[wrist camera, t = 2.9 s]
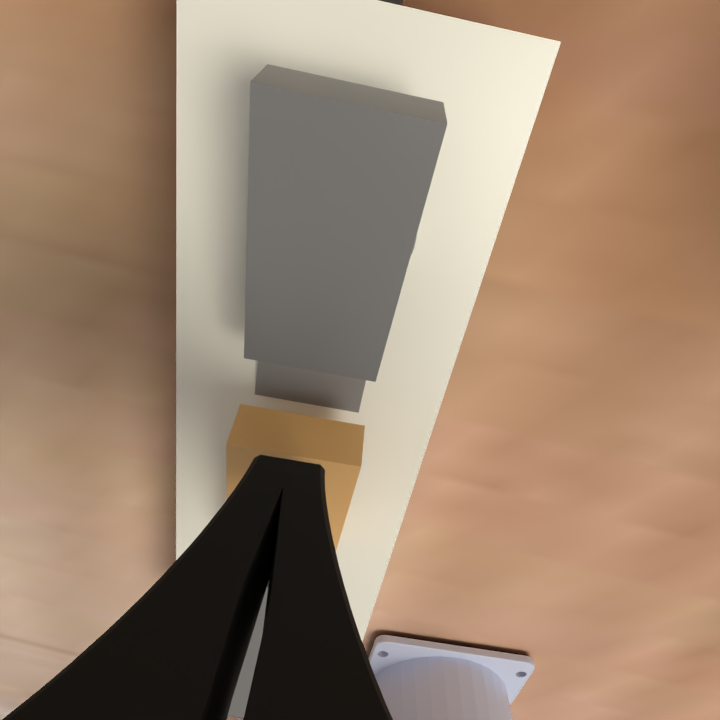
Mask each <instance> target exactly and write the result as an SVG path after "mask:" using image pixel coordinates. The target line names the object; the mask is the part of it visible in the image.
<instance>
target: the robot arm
mask: <svg viewBox="0 0 720 720" xmlns="http://www.w3.org/2000/svg"><path fill="white" fill-rule="evenodd" d="M268 582H269V585H268ZM267 585H268V593H267V601H266V609H265V618H264V626H263V634H262V639H261V643H260V648H259V652H258V657H257V662H256V666H255V670H254V675H253V679H252V684H251V688H250V693H249V697H248V702H247V706H246V710H245V715H244V719H243V720H513V718H512V713H511V708H510V705H511V703H512V702H513V700H514V699H515V697H516V696H517V694H518V693H519V691H520V690H521V688H522V687H523V685H524V684H525V682H526V681H527V680H528V678H529V677H530V675H531V674H532V672H533V671H534V669H535V666H534V662H533V659H532V658H531V657H529V656H525V655H518V654H511V653H505V652H498V651H491V650H485V649H478V648H471V647H465V646H458V645H451V644H444V643H438V642H431V641H424V640H418V639H411V638H404V637H397V636H391V635H380V636H378V637H377V638H376V639H375V641H374V644H373V647H372V650H371V653H370V655H369V658H368V657H367V654H366V651H365V648H364V646H363V643H362V640H361V637H360V634H359V632H358V629H357V626H356V623H355V619H354V616H353V613H352V610H351V607H350V603H349V600H348V597H347V593H346V590H345V586H344V583H343V579H342V575H341V572H340V568H339V564H338V560H337V555H336V551H335V546H334V542H333V538H332V533H331V527H330V522H329V516H328V509H327V502H326V492H325V469H324V468H323V467H322V466H321V465H319V464H313V463H308V462H302V461H296V460H290V459H284V458H278V457H272V456H266V455H259V456H257V457H255V458H254V459H253V461H252V463H251V464H250V466H249V468H248V470H247V471H246V473H245V474H244V476H243V477H242V479H241V481H240V482H239V483H238V485H237V486H236V488H235V489H234V491H233V492H232V493H231V495H230V496H229V497H228V499H227V500H226V501H225V503H224V504H223V506H222V507H221V508H220V509H219V511H218V512H217V513H216V514H215V516H214V517H213V518H212V519H211V521H210V522H209V523H208V524H207V526H206V527H205V528H204V529H203V531H202V532H201V533H200V534H199V535H198V537H197V538H196V539H195V540H194V541H193V542H192V544H191V545H190V546H189V547H188V548H187V549H186V550H185V551H184V552H183V554H182V555H181V556H180V557H179V558H178V559H177V560H176V561H175V562H174V564H173V565H172V566H171V567H170V568H169V569H168V570H167V571H166V572H165V574H164V575H163V576H162V577H161V578H160V579H159V580H158V581H157V582H156V583H155V584H154V585H153V586H152V587H151V588H150V589H149V590H148V591H147V592H146V593H145V594H144V595H143V596H142V597H141V598H140V599H139V600H138V601H137V602H136V603H135V604H134V605H133V606H132V607H131V608H130V609H129V610H128V611H127V612H126V613H125V614H124V615H123V616H122V617H121V618H120V619H119V620H118V621H117V622H116V623H115V624H114V625H112V626H111V627H110V628H109V629H108V630H107V631H106V632H105V633H104V634H103V635H102V636H100V637H99V638H98V639H97V640H96V641H95V642H94V643H93V644H92V645H90V646H89V647H88V648H87V649H86V650H85V651H84V652H83V653H82V654H80V655H79V656H78V657H77V658H76V659H75V660H74V661H73V662H72V663H70V664H69V665H68V666H67V667H66V668H65V669H63V670H62V671H61V672H60V673H59V674H58V675H56V676H55V677H54V678H53V679H52V680H51V681H49V682H48V683H47V684H46V685H45V686H43V687H42V688H41V689H40V690H39V691H37V692H36V693H35V694H34V695H32V696H31V697H30V698H29V699H27V700H26V701H25V702H24V703H22V704H21V705H20V706H19V707H17V708H16V709H15V710H14V711H12V712H11V713H10V714H9V715H7V716H6V717H5V718H4V719H2V720H226V719H227V716H228V712H229V709H230V705H231V701H232V698H233V694H234V691H235V688H236V685H237V681H238V678H239V675H240V672H241V669H242V665H243V662H244V659H245V656H246V653H247V649H248V646H249V643H250V640H251V636H252V633H253V630H254V627H255V624H256V620H257V617H258V614H259V611H260V607H261V604H262V601H263V598H264V595H265V591H266V588H267Z"/></svg>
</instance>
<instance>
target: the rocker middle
mask: <svg viewBox="0 0 720 720" xmlns="http://www.w3.org/2000/svg"><path fill="white" fill-rule="evenodd" d="M364 430H365V426H364V425H358V424H352V423H347V422H341V421H335V420H330V419H324V418H318V417H312V416H307V415H301V414H295V413H289V412H284V411H278V410H272V409H267V408H261V407H255V406H249V405H244V404H240V406H239V409H238V412H237V415H236V417H235V420H234V423H233V426H232V429H231V432H230V434H229V437H228V440H227V443H226V478H227V499H228V497H229V496H230V495H231V493H232V492H233V491H234V489H235V488H236V486H237V485H238V483H239V482H240V481H241V479H242V477H243V476H244V474H245V473H246V471H247V470H248V468H249V466H250V464H251V463H252V461H253V459H254V458H255V457H257V456H259V455H266V456H272V457H278V458H284V459H290V460H296V461H302V462H308V463H313V464H319V465H321V466H322V467H323V468H324V469H325V492H326V502H327V509H328V516H329V522H330V527H331V533H332V538H333V542H334V546H335V551H336V549H337V546H338V543H339V539H340V536H341V533H342V529H343V526H344V523H345V519H346V516H347V513H348V509H349V506H350V503H351V499H352V496H353V493H354V489H355V486H356V483H357V479H358V476H359V473H360V469H361V464H362V453H363V441H364Z"/></svg>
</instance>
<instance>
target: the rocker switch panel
mask: <svg viewBox="0 0 720 720" xmlns="http://www.w3.org/2000/svg"><path fill="white" fill-rule="evenodd" d="M402 3H403V0H177V88H176V560H177V559H178V558H179V557H180V556H181V555H182V554H183V552H184V551H185V550H186V549H187V548H188V547H189V546H190V545H191V544H192V542H193V541H194V540H195V539H196V538H197V537H198V535H199V534H200V533H201V532H202V531H203V529H204V528H205V527H206V526H207V524H208V523H209V522H210V521H211V519H212V518H213V517H214V516H215V514H216V513H217V512H218V511H219V509H220V508H221V507H222V506H223V504H224V503H225V501H226V500H227V478H226V443H227V440H228V437H229V434H230V432H231V429H232V426H233V423H234V420H235V417H236V415H237V412H238V409H239V406H240V404H244V405H249V406H255V407H261V408H267V409H272V410H278V411H284V412H289V413H295V414H301V415H307V416H312V417H318V418H324V419H330V420H335V421H341V422H347V423H352V424H358V425H364V426H365V430H364V441H363V453H362V464H361V469H360V473H359V476H358V479H357V483H356V486H355V489H354V493H353V496H352V499H351V503H350V506H349V509H348V513H347V516H346V519H345V523H344V526H343V529H342V533H341V536H340V539H339V543H338V546H337V549H336V555H337V560H338V564H339V568H340V572H341V575H342V579H343V583H344V586H345V590H346V593H347V597H348V600H349V603H350V607H351V610H352V613H353V616H354V619H355V623H356V626H357V629H358V632H359V634H360V637H361V640H362V641H363V638H364V635H365V632H366V629H367V626H368V623H369V620H370V617H371V614H372V611H373V608H374V605H375V602H376V599H377V596H378V593H379V590H380V587H381V584H382V581H383V578H384V575H385V572H386V569H387V566H388V563H389V560H390V557H391V554H392V551H393V548H394V545H395V542H396V539H397V536H398V533H399V530H400V526H401V523H402V520H403V517H404V514H405V511H406V508H407V505H408V502H409V499H410V496H411V493H412V490H413V487H414V484H415V481H416V478H417V475H418V472H419V469H420V466H421V463H422V460H423V457H424V454H425V451H426V448H427V445H428V442H429V439H430V436H431V433H432V430H433V427H434V424H435V421H436V418H437V415H438V412H439V409H440V406H441V403H442V400H443V397H444V394H445V391H446V388H447V385H448V381H449V378H450V375H451V372H452V369H453V366H454V363H455V360H456V357H457V354H458V351H459V348H460V345H461V342H462V339H463V336H464V333H465V330H466V327H467V324H468V321H469V318H470V315H471V312H472V309H473V306H474V303H475V300H476V297H477V294H478V291H479V288H480V285H481V282H482V279H483V276H484V273H485V270H486V267H487V264H488V261H489V258H490V255H491V252H492V249H493V246H494V243H495V240H496V236H497V233H498V230H499V227H500V224H501V221H502V218H503V215H504V212H505V209H506V206H507V203H508V200H509V197H510V194H511V191H512V188H513V185H514V182H515V179H516V176H517V173H518V170H519V167H520V164H521V161H522V158H523V155H524V152H525V149H526V146H527V143H528V140H529V137H530V134H531V131H532V128H533V125H534V122H535V119H536V116H537V113H538V110H539V107H540V104H541V101H542V98H543V95H544V91H545V88H546V85H547V82H548V79H549V76H550V73H551V70H552V67H553V64H554V61H555V58H556V55H557V52H558V49H559V46H560V43H561V42H559V41H555V40H550V39H546V38H542V37H537V36H533V35H528V34H524V33H520V32H515V31H511V30H507V29H502V28H498V27H493V26H489V25H485V24H480V23H476V22H471V21H467V20H463V19H458V18H454V17H449V16H445V15H441V14H436V13H432V12H427V11H423V10H419V9H414V8H410V7H405V6H402ZM267 64H269V65H274V66H279V67H283V68H288V69H292V70H297V71H302V72H306V73H311V74H315V75H320V76H325V77H329V78H334V79H339V80H343V81H348V82H352V83H357V84H362V85H366V86H371V87H375V88H380V89H385V90H389V91H394V92H399V93H403V94H408V95H412V96H417V97H422V98H426V99H431V100H435V101H440V102H443V103H444V108H445V113H446V119H447V127H446V131H445V134H444V138H443V142H442V145H441V149H440V152H439V156H438V159H437V163H436V167H435V170H434V174H433V177H432V181H431V185H430V188H429V192H428V195H427V199H426V203H425V206H424V210H423V213H422V217H421V221H420V224H419V228H418V231H417V235H416V239H415V242H414V246H413V249H412V253H411V256H410V260H409V264H408V267H407V271H406V274H405V278H404V282H403V285H402V289H401V292H400V296H399V300H398V303H397V307H396V310H395V314H394V318H393V321H392V325H391V328H390V332H389V335H388V339H387V343H386V346H385V350H384V353H383V357H382V361H381V364H380V368H379V371H378V375H377V379H376V382H373V381H367V380H362V379H356V378H351V377H345V376H340V375H334V374H329V373H323V372H318V371H312V370H306V369H301V368H295V367H290V366H284V365H279V364H273V363H268V362H262V361H256V360H251V359H245V358H244V330H245V286H246V243H247V199H248V156H249V112H250V81H251V80H252V79H253V78H254V77H255V76H256V75H257V74H258V73H259V72H260V71H261V70H262V69H263V68H264V67H265V66H266V65H267Z"/></svg>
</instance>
